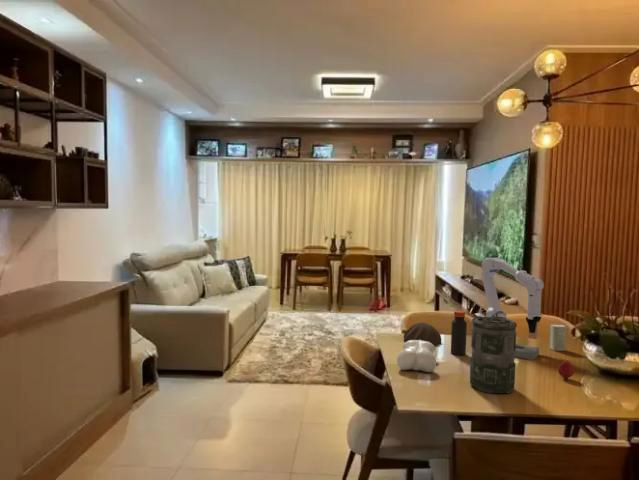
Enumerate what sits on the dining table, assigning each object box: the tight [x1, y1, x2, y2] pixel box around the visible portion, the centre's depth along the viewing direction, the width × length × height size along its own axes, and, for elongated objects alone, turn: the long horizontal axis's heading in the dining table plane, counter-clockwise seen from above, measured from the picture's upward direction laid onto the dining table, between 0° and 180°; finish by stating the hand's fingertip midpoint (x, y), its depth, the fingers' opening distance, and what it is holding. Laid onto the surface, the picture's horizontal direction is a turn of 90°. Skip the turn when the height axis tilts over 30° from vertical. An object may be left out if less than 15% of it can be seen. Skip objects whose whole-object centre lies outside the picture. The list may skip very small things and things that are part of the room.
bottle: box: [450, 310, 468, 357], centre depth 227 cm, size 7×7×20 cm
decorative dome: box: [403, 322, 442, 347], centre depth 249 cm, size 19×20×10 cm
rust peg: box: [528, 321, 540, 340], centre depth 232 cm, size 3×3×8 cm
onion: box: [557, 359, 575, 380], centre depth 193 cm, size 6×6×8 cm
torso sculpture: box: [396, 340, 437, 373], centre depth 209 cm, size 16×11×30 cm
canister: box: [469, 312, 518, 394], centre depth 181 cm, size 16×16×28 cm
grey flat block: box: [514, 343, 540, 361], centre depth 229 cm, size 16×12×3 cm
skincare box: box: [549, 324, 567, 352], centre depth 239 cm, size 6×4×12 cm
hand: (532, 331), depth 233 cm, fingers closed on rust peg, 3 cm apart
